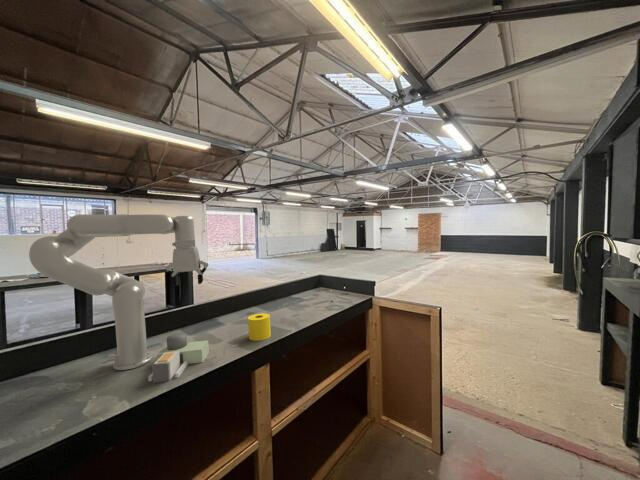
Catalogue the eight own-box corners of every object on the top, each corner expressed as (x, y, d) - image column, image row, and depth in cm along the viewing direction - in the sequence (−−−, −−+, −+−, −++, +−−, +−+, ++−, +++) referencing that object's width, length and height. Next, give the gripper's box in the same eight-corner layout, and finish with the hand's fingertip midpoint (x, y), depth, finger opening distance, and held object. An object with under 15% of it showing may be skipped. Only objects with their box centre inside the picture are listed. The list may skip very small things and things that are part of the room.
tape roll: (264, 341, 120) (263, 320, 120) (244, 339, 123) (243, 319, 123) (274, 333, 130) (273, 313, 129) (256, 332, 133) (255, 313, 132)
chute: (166, 368, 100) (164, 351, 99) (180, 366, 100) (179, 349, 100) (153, 383, 90) (151, 364, 90) (169, 381, 90) (167, 362, 90)
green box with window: (144, 381, 91) (142, 355, 90) (168, 356, 110) (167, 334, 110) (194, 375, 93) (192, 350, 93) (209, 351, 112) (207, 330, 112)
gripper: (160, 246, 110) (163, 287, 110) (203, 243, 112) (206, 284, 112) (168, 245, 117) (171, 284, 118) (209, 243, 119) (211, 281, 120)
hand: (188, 284), depth 115 cm, fingers open, 9 cm apart
